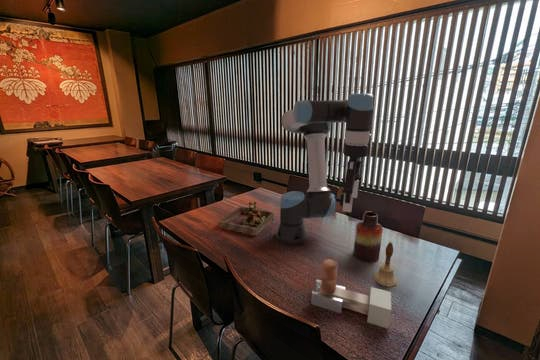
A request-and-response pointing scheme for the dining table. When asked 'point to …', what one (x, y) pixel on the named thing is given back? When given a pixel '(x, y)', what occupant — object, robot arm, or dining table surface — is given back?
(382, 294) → the white upright block
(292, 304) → the dining table surface
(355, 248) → the vase
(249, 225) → the bear figurine
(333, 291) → the sliding bolt with handle
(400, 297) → the dining table surface
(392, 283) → the hand bell
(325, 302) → the sleeve
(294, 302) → the dining table surface
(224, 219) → the shallow square tray
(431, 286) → the dining table surface
